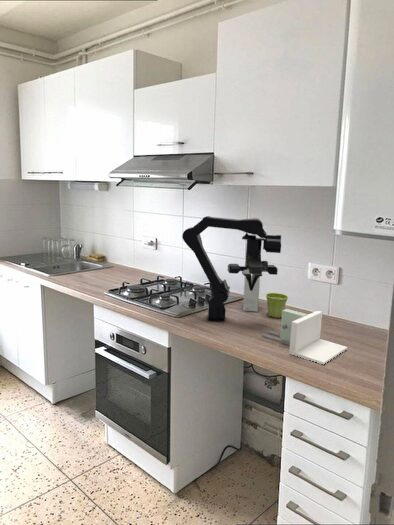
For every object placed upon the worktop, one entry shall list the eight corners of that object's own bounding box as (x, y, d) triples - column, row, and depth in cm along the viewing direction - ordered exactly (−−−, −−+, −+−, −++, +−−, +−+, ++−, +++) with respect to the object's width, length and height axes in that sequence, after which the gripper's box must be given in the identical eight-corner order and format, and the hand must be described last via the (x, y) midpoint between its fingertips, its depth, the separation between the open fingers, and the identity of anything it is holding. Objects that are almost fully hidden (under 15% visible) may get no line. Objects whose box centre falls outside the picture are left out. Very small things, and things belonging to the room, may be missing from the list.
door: (278, 341, 146) (280, 311, 144) (284, 338, 149) (286, 308, 147) (298, 347, 141) (301, 316, 139) (304, 344, 144) (307, 314, 142)
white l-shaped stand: (251, 340, 146) (253, 310, 144) (278, 328, 159) (280, 301, 157) (323, 365, 129) (327, 331, 127) (346, 349, 142) (350, 318, 140)
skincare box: (257, 312, 179) (259, 277, 176) (242, 310, 180) (244, 275, 177) (258, 306, 187) (261, 273, 184) (243, 305, 189) (246, 271, 186)
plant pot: (282, 312, 181) (283, 292, 179) (290, 319, 172) (291, 298, 170) (261, 312, 179) (262, 292, 178) (268, 319, 170) (269, 298, 169)
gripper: (232, 254, 152) (230, 295, 155) (282, 255, 153) (279, 296, 156) (228, 249, 163) (226, 287, 166) (275, 250, 164) (272, 289, 167)
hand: (250, 290), depth 163 cm, fingers closed
